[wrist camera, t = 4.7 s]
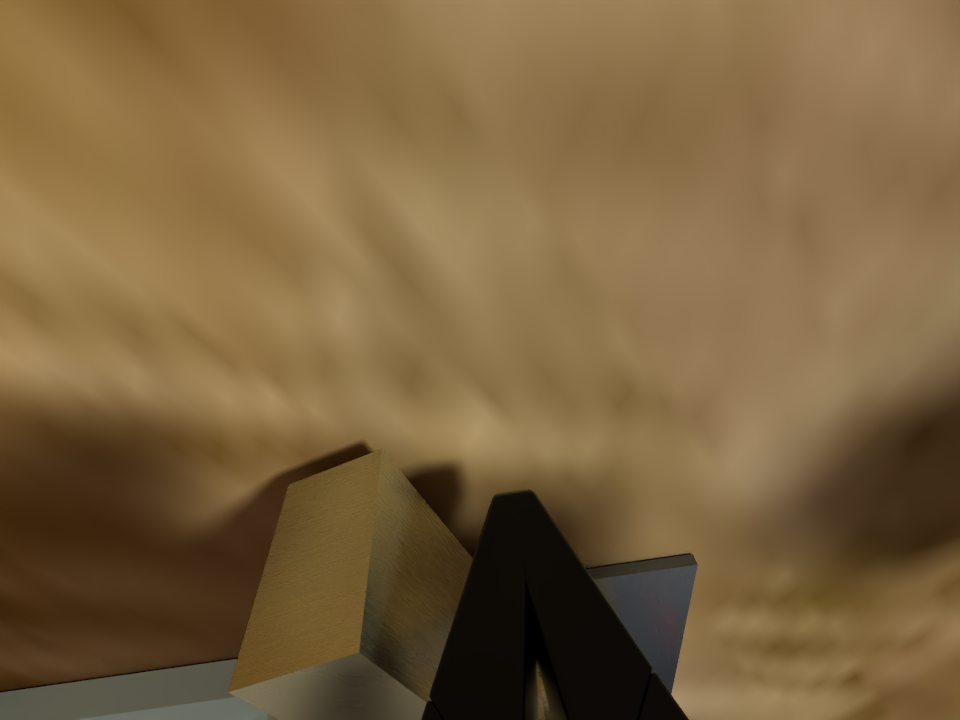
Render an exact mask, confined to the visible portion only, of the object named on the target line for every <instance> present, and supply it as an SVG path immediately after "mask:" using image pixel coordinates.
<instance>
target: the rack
mask: <svg viewBox="0 0 960 720" xmlns="http://www.w3.org/2000/svg"><path fill="white" fill-rule="evenodd" d="M236 663H237V659H233V660H226V661H219V662H212V663H205V664H198V665H191V666H184V667H177V668H170V669H163V670H156V671H148V672H141V673H134V674H127V675H120V676H113V677H106V678H99V679H92V680H85V681H78V682H71V683H64V684H57V685H50V686H43V687H36V688H29V689H22V690H15V691H8V692H1V693H0V720H280V719H278V718H276V717H274V716H272V715H270V714H268V713H266V712H264V711H262V710H261V709H259V708H257V707H255V706H253V705H251V704H249V703H247V702H245V701H243V700H242V699H240V698H238V697H236V696H234V695H232V694H230V693H228V690H229V686H230V683H231V680H232V676H233V673H234V669H235V666H236Z"/></svg>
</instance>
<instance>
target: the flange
mask: <svg viewBox="0 0 960 720" xmlns="http://www.w3.org/2000/svg"><path fill="white" fill-rule="evenodd" d="M586 570H587V571H588V573H589V574H590V576H591V577H592V579H593V580H594V582H595V583H596V584H597V586H598V587H599V589H600V590H601V592H602V593H603V595H604V596H605V598H606V599H607V601H608V602H609V604H610V605H611V607H612V608H613V610H614V611H615V613H616V614H617V616H618V617H619V619H620V620H621V622H622V623H623V625H624V626H625V628H626V629H627V630H628V632H629V633H630V635H631V636H632V638H633V639H634V641H635V642H636V644H637V645H638V647H639V648H640V650H641V651H642V653H643V654H644V656H645V657H646V659H647V660H648V662H649V663H650V665H651V666H652V668H653V671H652V673H657V675H658V676H659V677H660V679H661V680H662V682H663V683H664V685H665V686H666V688H667V689H668V691H669V692H670V694H671V692H672V688H673V683H674V678H675V673H676V668H677V663H678V658H679V653H680V648H681V643H682V638H683V634H684V629H685V624H686V619H687V614H688V609H689V604H690V599H691V594H692V589H693V584H694V580H695V575H696V570H697V562H696V560H695V558H694V556H693V554H689V555H682V556H675V557H668V558H661V559H654V560H647V561H640V562H633V563H626V564H619V565H612V566H605V567H599V568H592V569H586Z"/></svg>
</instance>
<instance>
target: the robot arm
mask: <svg viewBox="0 0 960 720" xmlns="http://www.w3.org/2000/svg"><path fill="white" fill-rule="evenodd" d="M537 662H538V666H539V670H540V674H541V678H542V682H543V686H544V689H545V693H546V697H547V701H548V705H549V709H550V713H551V717H552V720H689V719H688V718H687V716H686V715H685V714H684V712H683V711H682V709H681V708H680V707H679V705H678V704H677V702H676V701H675V700H674V698H673V697H672V695H671V694H670V692H669V691H668V689H667V688H666V686H665V685H664V683H663V682H662V680H661V679H660V677H659V676H658V675H657V673H652V671H653V668H652V666H651V665H650V663H649V662H648V660H647V659H646V657H645V656H644V654H643V653H642V651H641V650H640V648H639V647H638V645H637V644H636V642H635V641H634V639H633V638H632V636H631V635H630V633H629V632H628V630H627V629H626V628H625V626H624V625H623V623H622V622H621V620H620V619H619V617H618V616H617V614H616V613H615V611H614V610H613V608H612V607H611V605H610V604H609V602H608V601H607V599H606V598H605V596H604V595H603V593H602V592H601V590H600V589H599V587H598V586H597V584H596V583H595V582H594V580H593V579H592V577H591V576H590V574H589V573H588V571H587V570H586V568H585V567H584V565H583V564H582V562H581V561H580V559H579V558H578V556H577V555H576V553H575V552H574V550H573V549H572V547H571V546H570V544H569V543H568V541H567V540H566V539H565V537H564V536H563V534H562V533H561V531H560V530H559V528H558V527H557V525H556V524H555V522H554V521H553V519H552V518H551V516H550V515H549V513H548V512H547V510H546V509H545V507H544V506H543V504H542V503H541V501H540V500H539V498H538V497H537V495H536V494H535V493H534V492H533V491H532V490H529V489H528V490H521V491H513V492H506V493H499V494H495V495H494V496H493V498H492V501H491V504H490V507H489V510H488V513H487V516H486V519H485V522H484V525H483V529H482V532H481V535H480V538H479V541H478V544H477V547H476V550H475V554H474V557H473V560H472V563H471V566H470V569H469V572H468V575H467V578H466V582H465V585H464V588H463V591H462V594H461V597H460V600H459V603H458V607H457V610H456V613H455V616H454V619H453V622H452V625H451V628H450V632H449V635H448V638H447V641H446V644H445V647H444V650H443V653H442V656H441V660H440V663H439V666H438V669H437V672H436V675H435V678H434V681H433V685H432V688H431V691H430V694H429V698H430V700H431V701H427V703H426V705H425V709H424V712H423V715H422V718H421V720H539V717H538V685H537Z"/></svg>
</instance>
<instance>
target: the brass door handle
mask: <svg viewBox="0 0 960 720" xmlns="http://www.w3.org/2000/svg"><path fill="white" fill-rule="evenodd" d="M472 560H473V558H472V557H471V556H470V555H469V553H468V552H467V551H466V550H465V549H464V547H463V546H462V545H461V544H460V543H459V541H458V540H457V539H456V538H455V536H454V535H453V534H452V533H451V532H450V530H449V529H448V528H447V527H446V526H445V524H444V523H443V522H442V521H441V519H440V518H439V517H438V516H437V515H436V513H435V512H434V511H433V510H432V509H431V507H430V506H429V505H428V504H427V502H426V501H425V500H424V499H423V498H422V496H421V495H420V494H419V493H418V492H417V490H416V489H415V488H414V487H413V485H412V484H411V483H410V482H409V481H408V479H407V478H406V477H405V476H404V474H403V473H402V472H401V471H400V470H399V468H398V467H397V466H396V465H395V464H394V462H393V461H392V460H391V459H390V457H389V456H388V455H387V454H386V453H385V451H384V450H383V449H380V450H378V451H375V452H373V453H370V454H367V455H365V456H362V457H360V458H357V459H354V460H352V461H349V462H347V463H344V464H341V465H339V466H336V467H334V468H331V469H328V470H326V471H323V472H321V473H318V474H315V475H313V476H310V477H308V478H305V479H302V480H300V481H297V482H295V483H292V484H289V486H288V489H287V493H286V496H285V499H284V503H283V506H282V510H281V513H280V516H279V520H278V523H277V527H276V530H275V533H274V537H273V540H272V544H271V547H270V550H269V554H268V557H267V561H266V564H265V567H264V571H263V574H262V578H261V581H260V584H259V588H258V591H257V595H256V598H255V601H254V605H253V608H252V612H251V615H250V618H249V622H248V625H247V629H246V632H245V635H244V639H243V642H242V646H241V649H240V652H239V656H238V659H237V663H236V666H235V669H234V673H233V676H232V680H231V683H230V686H229V690H228V693H230V694H232V695H234V696H236V697H238V698H240V699H242V700H243V701H245V702H247V703H249V704H251V705H253V706H255V707H257V708H259V709H261V710H262V711H264V712H266V713H268V714H270V715H272V716H274V717H276V718H278V719H280V720H421V718H422V715H423V712H424V709H425V705H426V703H427V701H431V700H430V698H429V694H430V691H431V688H432V685H433V681H434V678H435V675H436V672H437V669H438V666H439V663H440V660H441V656H442V653H443V650H444V647H445V644H446V641H447V638H448V635H449V632H450V628H451V625H452V622H453V619H454V616H455V613H456V610H457V607H458V603H459V600H460V597H461V594H462V591H463V588H464V585H465V582H466V578H467V575H468V572H469V569H470V566H471V563H472ZM537 685H538V717H539V720H552V717H551V713H550V709H549V705H548V701H547V697H546V693H545V689H544V686H543V682H542V678H541V674H540V670H539V666H538V662H537Z"/></svg>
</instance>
